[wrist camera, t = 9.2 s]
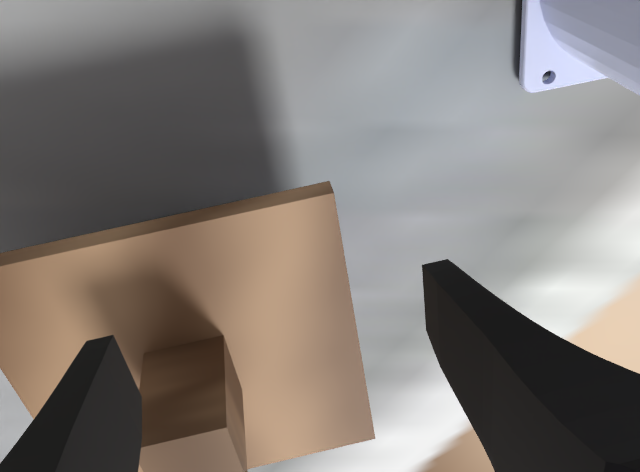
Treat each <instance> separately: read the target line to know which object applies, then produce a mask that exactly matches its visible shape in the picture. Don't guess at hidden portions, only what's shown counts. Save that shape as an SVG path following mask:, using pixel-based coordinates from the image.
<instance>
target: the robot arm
mask: <svg viewBox="0 0 640 472" xmlns="http://www.w3.org/2000/svg"><path fill="white" fill-rule="evenodd" d="M549 70H550V71H551V74H550V77H549V78H548V79H547V80H545V81H542V77H543V75H544V74H545V73H546V72H547V71H549ZM604 78H610V79H612V80H614V81H615V82H617V83H619V84H621V85H622V86H624V87H626V88H628V89H629V90H631V91H633V92H635V93H636V94H638V95H640V0H523V1H522V24H521V47H520V70H519V82H520V85H521V87H522V88H523V89H524V90H526V91H528V92H530V93H534V92H540V91H545V90H550V89H554V88H559V87H564V86H569V85H574V84H579V83H584V82H589V81H594V80H599V79H604ZM422 270H423V286H424V302H425V318H426V331H427V333H428V336H429V339H430V341H431V344H432V347H433V349H434V352H435V354H436V357H437V359H438V362H439V364H440V367H441V369H442V371H443V373H444V374H445V376H446V378H447V380H448V382H449V384H450V386H451V388H452V389H453V391H454V393H455V395H456V397H457V399H458V401H459V402H460V404H461V406H462V408H463V410H464V412H465V413H466V415H467V417H468V419H469V421H470V423H471V425H472V426H473V428H474V430H475V432H476V434H477V436H478V437H479V439H480V441H481V443H482V445H483V447H484V449H485V451H486V453H487V455H488V457H489V459H490V461H491V463H492V466H493V468H494V470H495V472H640V374H638V373H636V372H633V371H631V370H628V369H626V368H624V367H621V366H619V365H617V364H614V363H612V362H610V361H607V360H605V359H603V358H600V357H598V356H596V355H594V354H592V353H590V352H588V351H585V350H584V349H582V348H580V347H578V346H576V345H574V344H572V343H570V342H568V341H566V340H564V339H562V338H560V337H559V336H557V335H555V334H553V333H552V332H550V331H548V330H546V329H545V328H543V327H541V326H540V325H538V324H537V323H535V322H533V321H532V320H530V319H529V318H527V317H526V316H524V315H523V314H521V313H519V312H518V311H516V310H515V309H514V308H512V307H511V306H509V305H508V304H506V303H505V302H504V301H502V300H501V299H499V298H498V297H497V296H495V295H494V294H492V293H491V292H490V291H488V290H487V289H486V288H484V287H483V286H482V285H480V284H479V283H478V282H476V281H475V280H474V279H473V278H471V277H470V276H469V275H467V274H466V273H465V272H464V271H462V270H461V269H460V268H459V267H457V266H456V265H455V264H453V263H452V262H451V261H449V260H448V259H446V260H442V261H437V262H433V263H429V264H424V265H422ZM141 443H142V396H141V394H140V392H139V389H138V387H137V385H136V383H135V381H134V379H133V376H132V374H131V372H130V370H129V368H128V365H127V363H126V361H125V359H124V357H123V355H122V352H121V350H120V348H119V346H118V344H117V342H116V339H115V337H114V335H110V336H106V337H101V338H97V339H93V340H88V341H86V342H85V344H84V345H83V347H82V348H81V350H80V351H79V353H78V354H77V356H76V357H75V359H74V360H73V362H72V363H71V365H70V366H69V368H68V369H67V371H66V373H65V374H64V376H63V377H62V379H61V380H60V382H59V383H58V385H57V386H56V388H55V389H54V391H53V392H52V394H51V395H50V397H49V398H48V400H47V401H46V403H45V404H44V406H43V407H42V408H41V410H40V411H39V413H38V414H37V416H36V417H35V419H34V420H33V421H32V423H31V424H30V425H29V427H28V428H27V429H26V431H25V432H24V433H23V435H22V436H21V437H20V439H19V440H18V441H17V443H16V444H15V445H14V447H13V448H12V449H11V451H10V452H9V453H8V455H7V456H6V457H5V458H4V460H3V461H2V462H1V463H0V472H138V468H139V460H140V452H141Z"/></svg>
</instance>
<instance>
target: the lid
mask: <svg viewBox="0 0 640 472" xmlns="http://www.w3.org/2000/svg"><path fill="white" fill-rule="evenodd" d="M110 335H114V337H115V339H116V342H117V344H118V346H119V348H120V350H121V352H122V355H123V357H124V359H125V361H126V363H127V365H128V368H129V370H130V372H131V374H132V376H133V379H134V381H135V383H136V385H137V387H138V389H139V392H140V394H141V396H142V443H141V452H140V460H139V468H138V472H247V469H250V468H254V467H258V466H262V465H266V464H271V463H275V462H279V461H283V460H287V459H292V458H296V457H300V456H304V455H308V454H313V453H317V452H321V451H325V450H329V449H334V448H338V447H342V446H346V445H350V444H354V443H359V442H363V441H367V440H371V439H375V434H374V428H373V422H372V416H371V410H370V405H369V399H368V393H367V387H366V381H365V375H364V369H363V363H362V357H361V351H360V345H359V339H358V333H357V327H356V322H355V316H354V310H353V304H352V298H351V292H350V286H349V280H348V274H347V268H346V262H345V256H344V250H343V244H342V239H341V233H340V227H339V221H338V215H337V209H336V203H335V197H334V192H333V189H332V187H331V184H330V181H327V182H323V183H318V184H313V185H309V186H304V187H300V188H295V189H291V190H286V191H281V192H277V193H272V194H268V195H263V196H259V197H254V198H249V199H245V200H240V201H236V202H231V203H227V204H222V205H217V206H213V207H208V208H204V209H199V210H195V211H190V212H185V213H181V214H176V215H172V216H167V217H163V218H158V219H154V220H149V221H144V222H140V223H135V224H131V225H126V226H122V227H117V228H112V229H108V230H103V231H99V232H94V233H90V234H85V235H80V236H76V237H71V238H67V239H62V240H58V241H53V242H48V243H44V244H39V245H35V246H30V247H26V248H21V249H16V250H12V251H7V252H3V253H0V368H1V370H2V371H3V373H4V374H5V376H6V378H7V379H8V381H9V382H10V384H11V385H12V387H13V388H14V390H15V391H16V393H17V394H18V396H19V397H20V399H21V400H22V402H23V404H24V405H25V407H26V408H27V410H28V411H29V413H30V414H31V416H32V417H33V419H35V417H36V416H37V414H38V413H39V411H40V410H41V408H42V407H43V406H44V404H45V403H46V401H47V400H48V398H49V397H50V395H51V394H52V392H53V391H54V389H55V388H56V386H57V385H58V383H59V382H60V380H61V379H62V377H63V376H64V374H65V373H66V371H67V369H68V368H69V366H70V365H71V363H72V362H73V360H74V359H75V357H76V356H77V354H78V353H79V351H80V350H81V348H82V347H83V345H84V344H85V342H86V341H88V340H93V339H97V338H101V337H106V336H110Z"/></svg>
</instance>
